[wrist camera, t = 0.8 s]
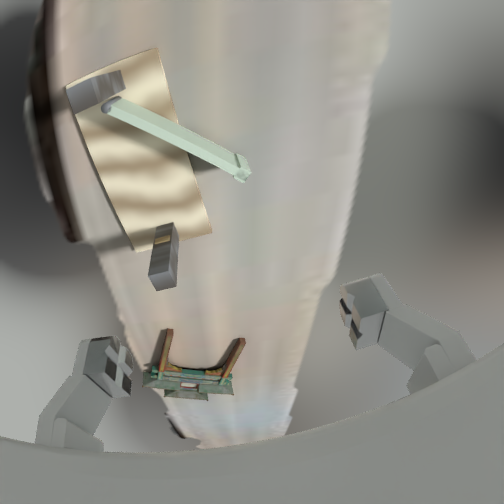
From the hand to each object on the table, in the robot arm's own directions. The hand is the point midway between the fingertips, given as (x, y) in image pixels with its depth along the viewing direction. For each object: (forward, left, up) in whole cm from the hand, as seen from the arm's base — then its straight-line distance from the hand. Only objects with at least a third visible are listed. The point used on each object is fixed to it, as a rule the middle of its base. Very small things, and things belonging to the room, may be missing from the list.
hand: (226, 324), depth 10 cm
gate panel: (+1, -4, -35) cm, 35 cm away
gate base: (+4, -11, -36) cm, 38 cm away
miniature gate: (+60, -21, -37) cm, 74 cm away
